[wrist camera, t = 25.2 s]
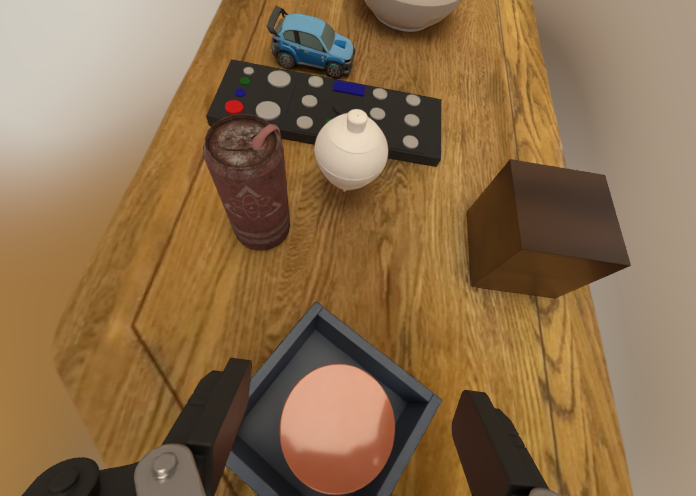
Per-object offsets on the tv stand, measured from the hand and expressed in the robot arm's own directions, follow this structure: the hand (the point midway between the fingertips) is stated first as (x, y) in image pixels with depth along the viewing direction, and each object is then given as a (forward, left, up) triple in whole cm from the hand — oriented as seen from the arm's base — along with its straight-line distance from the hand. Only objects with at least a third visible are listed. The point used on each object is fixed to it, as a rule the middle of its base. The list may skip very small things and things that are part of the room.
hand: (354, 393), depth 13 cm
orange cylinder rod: (-1, +1, -20) cm, 20 cm away
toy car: (+31, -36, -21) cm, 51 cm away
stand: (-8, -26, -21) cm, 34 cm away
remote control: (+22, -29, -21) cm, 42 cm away
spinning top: (+13, -20, -21) cm, 32 cm away
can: (+17, -10, -21) cm, 29 cm away
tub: (-1, +1, -21) cm, 21 cm away
